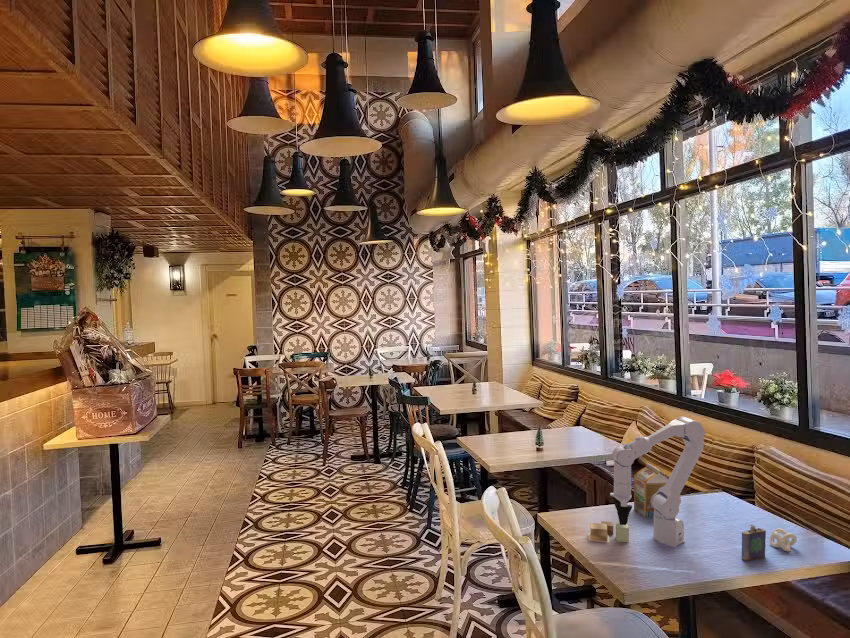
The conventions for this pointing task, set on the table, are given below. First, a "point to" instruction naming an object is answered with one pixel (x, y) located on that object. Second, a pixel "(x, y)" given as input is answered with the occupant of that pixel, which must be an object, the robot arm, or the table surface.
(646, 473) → the milk carton
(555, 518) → the table surface
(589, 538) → the build mat
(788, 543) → the knot
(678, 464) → the robot arm
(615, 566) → the table surface
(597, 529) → the oak block
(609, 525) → the walnut block
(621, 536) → the sage block
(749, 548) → the flask
